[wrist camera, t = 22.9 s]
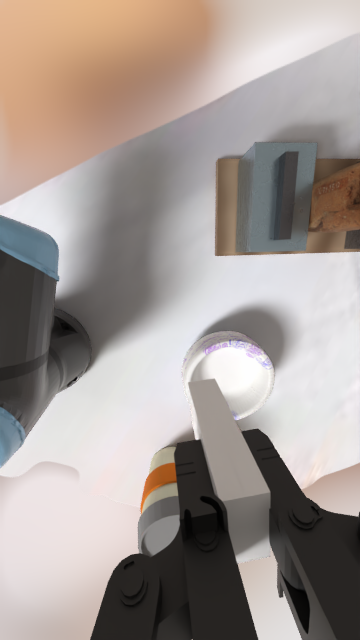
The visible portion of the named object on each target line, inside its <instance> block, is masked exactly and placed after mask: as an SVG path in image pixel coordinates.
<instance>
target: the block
mask: <svg viewBox="0 0 360 640" xmlns="http://www.w3.org/2000/svg"><path fill="white" fill-rule="evenodd" d="M359 229H360V162H359V163H357V164H354V165H352V166H349V167H346V168H344V169H342V170H339V171H337V172H335V173H332V174H330V175H328V176H326V177H324V178H322V179H319V180H317V181H315V182H313V189H312V198H311V207H310V217H309V226H308V232H325V233H327V232H343V231H351V230H359Z"/></svg>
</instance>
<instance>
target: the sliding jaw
mask: <svg viewBox="0 0 360 640" xmlns="http://www.w3.org/2000/svg"><path fill="white" fill-rule="evenodd" d="M316 152H317V143H262V142H255V144H254V145H253V146H252V147H251V148H250V149H249V150H248V151H247V152H246V154H245V155H244V156H243V157H242V158H241V159H240V160H239V161H238V187H237V218H236V248H235V252H276V251H306V244H307V235H308V226H309V217H310V207H311V198H312V189H313V179H314V170H315V161H316Z"/></svg>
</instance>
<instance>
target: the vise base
mask: <svg viewBox="0 0 360 640" xmlns="http://www.w3.org/2000/svg"><path fill="white" fill-rule="evenodd" d="M239 160H240V159H218V160H217V162H216V221H215V256H231V255H264V254H297V253H330V252H360V229H359V230H351V231H343V232H327V233H325V232H308V235H307V244H306V251H276V252H235V248H236V218H237V187H238V161H239ZM359 162H360V159H316V161H315V170H314V179H313V182H315V181H317V180H319V179H322V178H324V177H326V176H328V175H330V174H332V173H335V172H337V171H339V170H342V169H344V168H346V167H349V166H352V165H354V164H357V163H359Z"/></svg>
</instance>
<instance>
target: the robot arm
mask: <svg viewBox="0 0 360 640" xmlns="http://www.w3.org/2000/svg"><path fill="white" fill-rule="evenodd" d="M58 258H59V249H58V245H57V243H56V242H55V240H54V239H53V238H52V237H51V236H50V235H49V234H47V233H45V232H43V231H41V230H39V229H36V228H34V227H31V226H29V225H26V224H23V223H21V222H18V221H15V220H13V219H10V218H7V217H4V216H2V215H0V468H1V467H2V466H3V465H4V464H5V463H6V462H7V461H8V460H9V459H10V457H11V456H12V455H13V454H14V453H15V452H16V451H17V450H18V449H19V448H20V447H21V446H22V444H23V443H24V440H25V438H26V437H27V435H28V434H29V432H30V431H31V430H32V428H33V427H34V425H35V424H36V422H37V421H38V420H39V418H40V417H41V415H42V414H43V412H44V411H45V409H46V408H47V407H48V405H49V404H50V402H51V401H52V399H53V398H54V397H55V395H56V394H57V393H59V392H61V391H63V390H65V389H67V388H68V387H70V386H72V385H73V384H74V383H75V382H77V381H78V380H79V379H80V377H81V376H82V375H83V373H84V372H85V370H86V368H87V366H88V364H89V362H90V358H91V344H90V340H89V337H88V335H87V333H86V331H85V330H84V328H83V327H82V326H81V324H80V323H79V322H78V321H77V320H76V319H74V318H73V317H72V316H70V315H69V314H67V313H65V312H63V311H60V310H57V309H54V302H55V293H56V284H57V281H59V276H58ZM188 390H189V399H190V408H191V417H192V425H193V430H194V434H195V439H196V440H193V441H187V442H181V443H177V446H176V449H175V452H174V461H175V470H176V480H177V489H178V499H179V508H180V517H179V521H180V526H179V530H178V532H177V534H176V536H175V538H174V539H173V541H172V542H171V543H170V544H169V545H168V546H167V547H165V548H164V549H163V550H161V551H160V552H158V553H157V554H155V555H153V556H152V557H150V556H147V555H144V554H142V553H139V554H133V555H130V556H128V557H127V558H125V559H123V560H122V561H121V562H120V563H119V564H118V566H117V567H116V568H115V570H114V571H113V573H112V575H111V578H110V580H109V582H108V585H107V588H106V591H105V594H104V597H103V600H102V603H101V607H100V610H99V613H98V616H97V620H96V623H95V626H94V629H93V633H92V636H91V639H90V640H192V639H193V640H258V637H257V634H256V630H255V627H254V623H253V619H252V616H251V612H250V609H249V604H248V601H247V597H246V593H245V590H244V586H243V583H242V579H241V575H240V572H239V568H238V563H243V562H247V561H252V560H257V559H262V558H266V557H270V546H271V548H272V551H273V553H274V555H275V558H276V560H277V563H278V569H277V572H278V573H277V574H278V575H277V588H278V593H279V597H280V598H281V597H283V591H284V593H285V596H286V599H287V601H288V604H289V606H290V609H291V611H292V614H293V617H294V619H295V622H296V625H297V627H298V630H299V633H300V635H301V638H302V640H360V512H359V517H356V516H350V515H344V514H337V513H333V512H329V511H326V510H324V509H322V508H320V507H319V506H318V505H317V504H316V503H314V502H313V501H312V500H310V499H309V498H307V497H306V496H305V495H304V493H303V492H302V491H301V489H300V487H299V486H298V484H297V483H296V481H295V479H294V478H293V476H292V475H291V473H290V471H289V470H288V468H287V466H286V465H285V463H284V462H283V460H282V458H280V455H279V454H278V452H277V450H276V449H275V448H274V446H273V444H272V442H271V441H270V439H269V438H268V436H267V435H265V434H264V433H263V432H261V431H260V430H259V429H253V430H247V431H240V429H239V427H238V425H237V423H236V421H235V419H234V417H233V415H232V412H231V410H230V408H229V406H228V404H227V402H226V400H225V398H224V396H223V394H222V392H221V390H220V388H219V386H218V384H217V382H216V380H215V378H214V379H207V380H201V381H194V382H188Z"/></svg>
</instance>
